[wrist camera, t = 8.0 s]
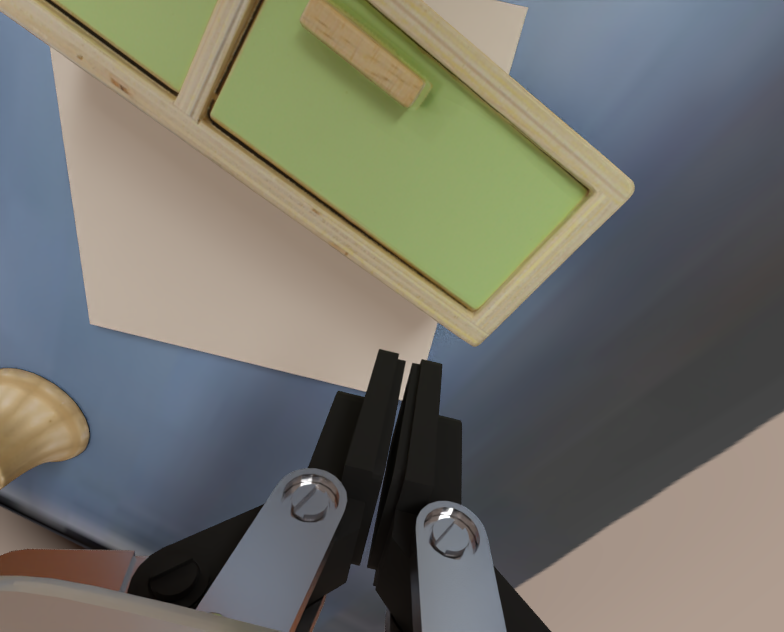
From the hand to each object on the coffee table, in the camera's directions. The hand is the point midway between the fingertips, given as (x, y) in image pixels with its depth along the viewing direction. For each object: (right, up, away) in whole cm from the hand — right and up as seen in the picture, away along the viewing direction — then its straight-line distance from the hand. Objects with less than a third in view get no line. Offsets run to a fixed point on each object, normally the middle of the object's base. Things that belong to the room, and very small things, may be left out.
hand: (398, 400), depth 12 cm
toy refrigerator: (+6, +5, +6) cm, 10 cm away
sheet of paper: (-6, +8, +12) cm, 16 cm away
